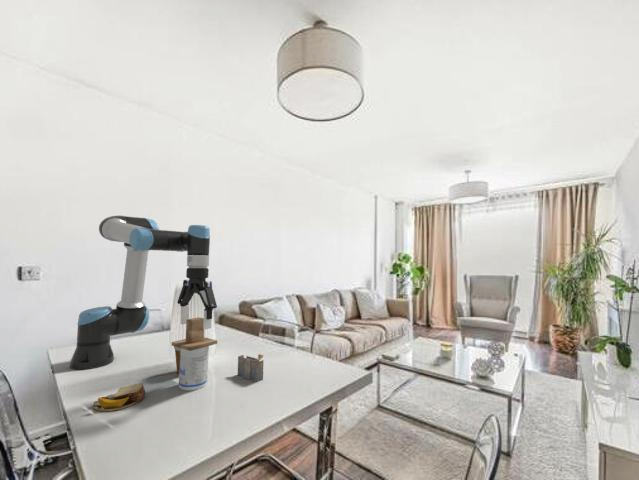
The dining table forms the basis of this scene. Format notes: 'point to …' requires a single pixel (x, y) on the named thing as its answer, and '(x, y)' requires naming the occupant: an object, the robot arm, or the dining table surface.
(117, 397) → the toy sandwich meal
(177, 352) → the disposable coffee cup
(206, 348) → the supplement tub
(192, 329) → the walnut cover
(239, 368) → the ruin model on sheet
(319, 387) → the dining table surface
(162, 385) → the grey square tile
